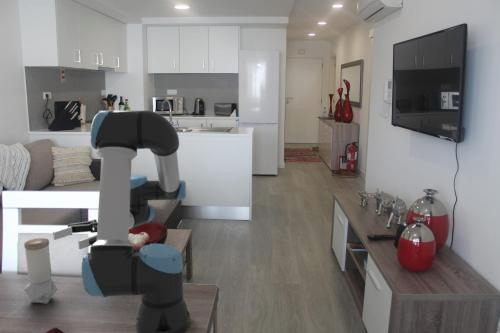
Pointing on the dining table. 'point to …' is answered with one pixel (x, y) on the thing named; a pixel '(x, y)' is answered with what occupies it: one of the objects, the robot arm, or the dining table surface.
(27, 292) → the die
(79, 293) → the dining table surface
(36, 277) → the jar
